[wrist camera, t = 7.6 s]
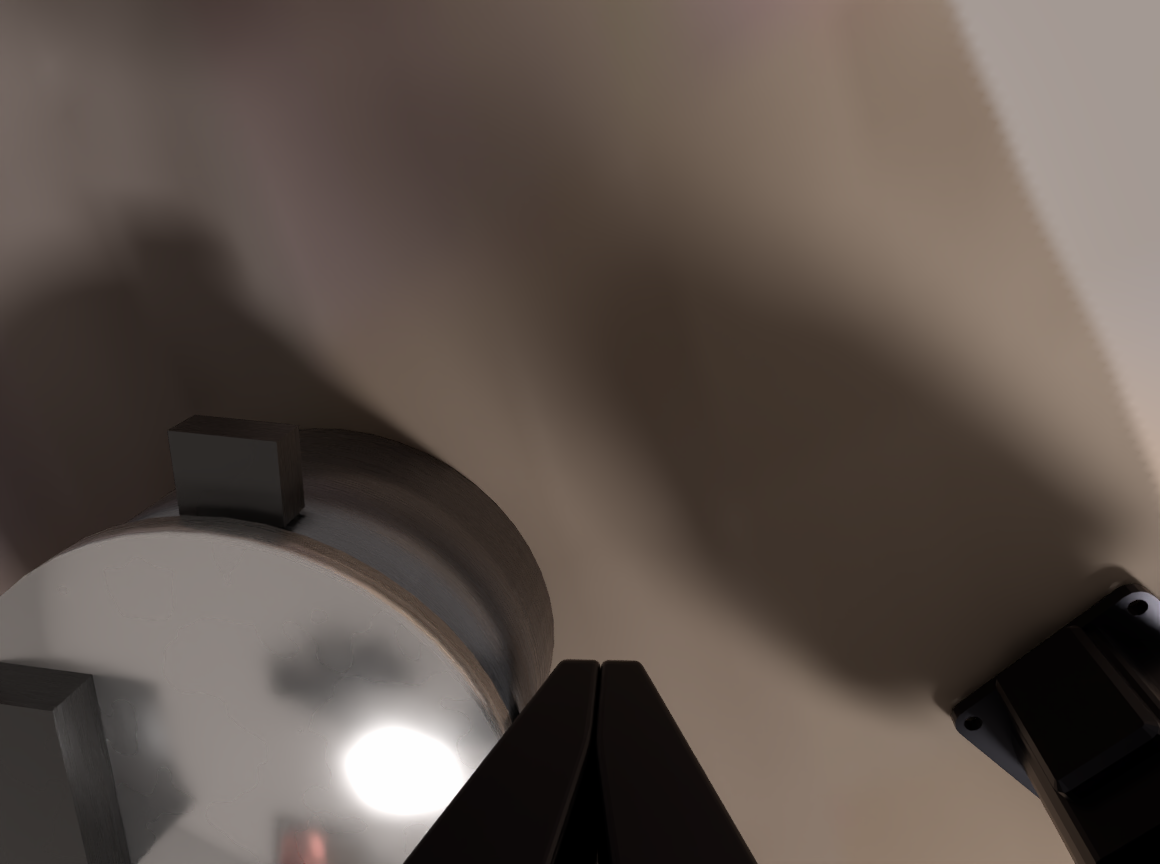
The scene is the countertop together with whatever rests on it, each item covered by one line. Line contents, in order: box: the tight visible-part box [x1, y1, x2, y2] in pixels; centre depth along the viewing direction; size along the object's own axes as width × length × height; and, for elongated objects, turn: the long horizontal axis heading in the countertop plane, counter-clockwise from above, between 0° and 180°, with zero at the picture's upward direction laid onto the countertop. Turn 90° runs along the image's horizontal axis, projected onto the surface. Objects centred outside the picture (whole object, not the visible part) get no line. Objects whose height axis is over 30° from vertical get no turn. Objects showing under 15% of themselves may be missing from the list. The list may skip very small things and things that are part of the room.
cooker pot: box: [127, 415, 554, 723], centre depth 22 cm, size 14×17×6 cm
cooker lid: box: [0, 515, 512, 864], centre depth 18 cm, size 14×14×2 cm
